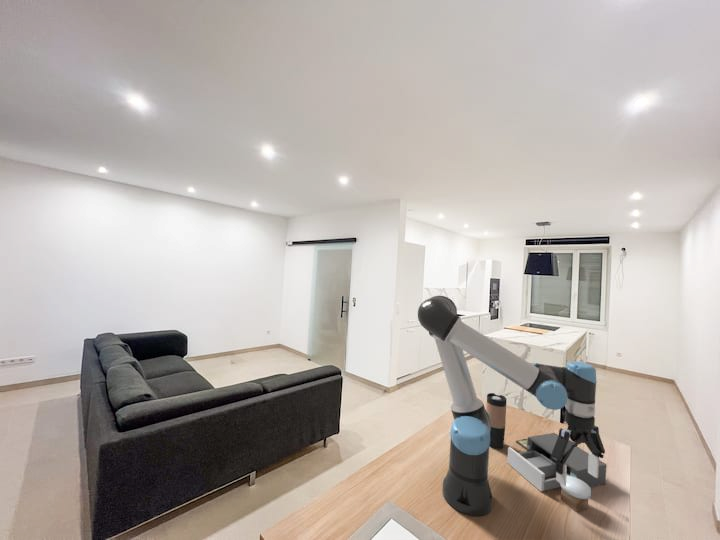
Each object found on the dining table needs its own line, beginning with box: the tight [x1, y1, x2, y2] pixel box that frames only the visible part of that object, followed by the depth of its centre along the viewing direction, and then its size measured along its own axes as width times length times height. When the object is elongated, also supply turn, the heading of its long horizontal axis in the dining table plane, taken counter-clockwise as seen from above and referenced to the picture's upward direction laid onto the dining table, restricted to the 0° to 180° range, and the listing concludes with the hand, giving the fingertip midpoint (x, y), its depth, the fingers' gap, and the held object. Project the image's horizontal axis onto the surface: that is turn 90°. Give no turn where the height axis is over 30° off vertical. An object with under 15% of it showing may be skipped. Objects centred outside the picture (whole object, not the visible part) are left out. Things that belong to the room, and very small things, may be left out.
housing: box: [526, 432, 607, 489], centre depth 113 cm, size 15×20×7 cm
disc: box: [560, 475, 592, 500], centre depth 95 cm, size 8×8×2 cm
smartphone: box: [515, 438, 556, 464], centre depth 122 cm, size 8×15×1 cm, turn 18°
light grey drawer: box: [506, 446, 570, 492], centre depth 109 cm, size 13×15×6 cm
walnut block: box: [560, 487, 589, 513], centre depth 95 cm, size 5×5×5 cm
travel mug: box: [485, 392, 507, 450], centre depth 126 cm, size 8×8×20 cm
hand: (577, 479), depth 95 cm, fingers open, 13 cm apart
